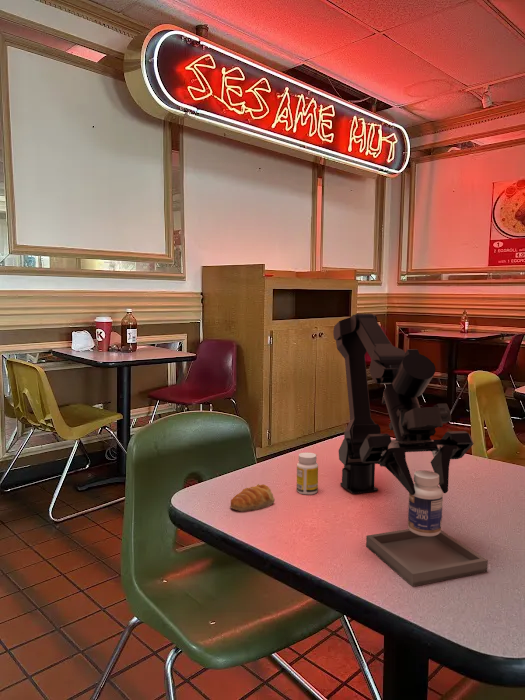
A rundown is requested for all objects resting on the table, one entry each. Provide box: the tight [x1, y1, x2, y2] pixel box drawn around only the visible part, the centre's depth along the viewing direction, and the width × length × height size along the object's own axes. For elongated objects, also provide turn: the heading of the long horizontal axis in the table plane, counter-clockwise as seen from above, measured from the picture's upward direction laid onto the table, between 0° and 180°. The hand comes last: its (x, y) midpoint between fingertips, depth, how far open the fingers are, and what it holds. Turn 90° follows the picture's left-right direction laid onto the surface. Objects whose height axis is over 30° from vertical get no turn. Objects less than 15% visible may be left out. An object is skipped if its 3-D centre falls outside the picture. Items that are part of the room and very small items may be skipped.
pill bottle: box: [407, 470, 444, 536], centre depth 91 cm, size 5×5×10 cm
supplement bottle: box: [296, 452, 319, 495], centre depth 123 cm, size 5×5×8 cm
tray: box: [365, 528, 489, 588], centre depth 92 cm, size 14×14×2 cm
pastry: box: [230, 483, 275, 512], centre depth 115 cm, size 9×7×4 cm
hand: (429, 493), depth 90 cm, fingers closed on pill bottle, 5 cm apart
